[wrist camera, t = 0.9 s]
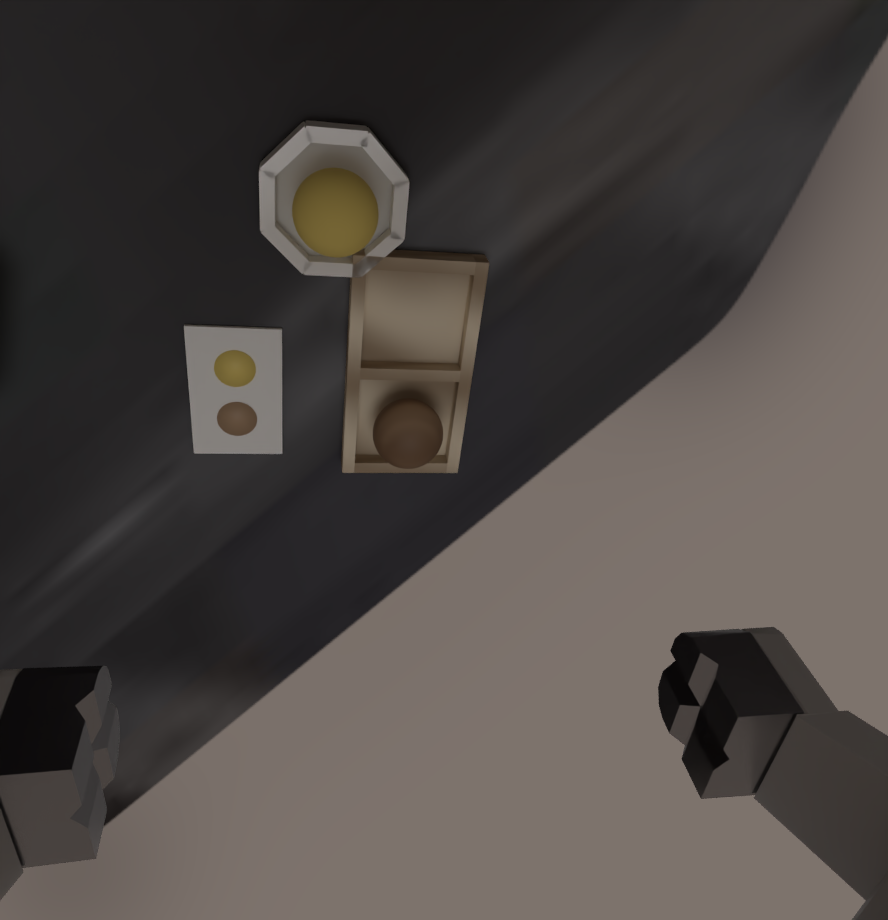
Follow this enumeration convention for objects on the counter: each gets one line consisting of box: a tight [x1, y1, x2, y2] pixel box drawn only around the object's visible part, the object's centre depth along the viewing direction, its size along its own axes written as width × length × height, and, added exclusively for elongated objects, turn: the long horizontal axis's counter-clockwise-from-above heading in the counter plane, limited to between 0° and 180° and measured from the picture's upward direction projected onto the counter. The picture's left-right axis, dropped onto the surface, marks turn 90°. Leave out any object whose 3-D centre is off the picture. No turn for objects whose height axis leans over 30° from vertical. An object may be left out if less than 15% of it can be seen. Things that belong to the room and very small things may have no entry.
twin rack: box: [341, 250, 489, 473], centre depth 43 cm, size 13×7×1 cm, turn 173°
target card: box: [184, 324, 282, 454], centre depth 43 cm, size 8×5×1 cm, turn 173°
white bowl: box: [259, 120, 410, 278], centre depth 37 cm, size 7×7×1 cm
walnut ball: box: [373, 398, 443, 469], centre depth 43 cm, size 4×4×4 cm
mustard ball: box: [292, 168, 379, 258], centre depth 36 cm, size 4×4×4 cm
